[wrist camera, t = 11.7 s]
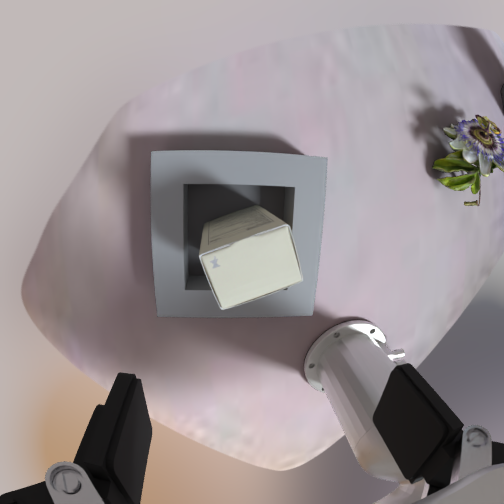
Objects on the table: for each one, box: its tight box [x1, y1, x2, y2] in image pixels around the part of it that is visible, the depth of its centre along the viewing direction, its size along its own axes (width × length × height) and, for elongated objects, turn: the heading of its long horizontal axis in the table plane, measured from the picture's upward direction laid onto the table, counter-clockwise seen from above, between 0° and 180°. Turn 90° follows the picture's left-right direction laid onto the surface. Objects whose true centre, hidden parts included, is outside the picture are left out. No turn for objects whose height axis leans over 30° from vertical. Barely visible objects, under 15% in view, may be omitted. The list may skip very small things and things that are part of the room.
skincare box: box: [199, 205, 303, 310], centre depth 24 cm, size 6×4×12 cm
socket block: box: [151, 150, 328, 318], centre depth 29 cm, size 16×16×5 cm
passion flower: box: [432, 115, 504, 206], centre depth 28 cm, size 11×11×12 cm
